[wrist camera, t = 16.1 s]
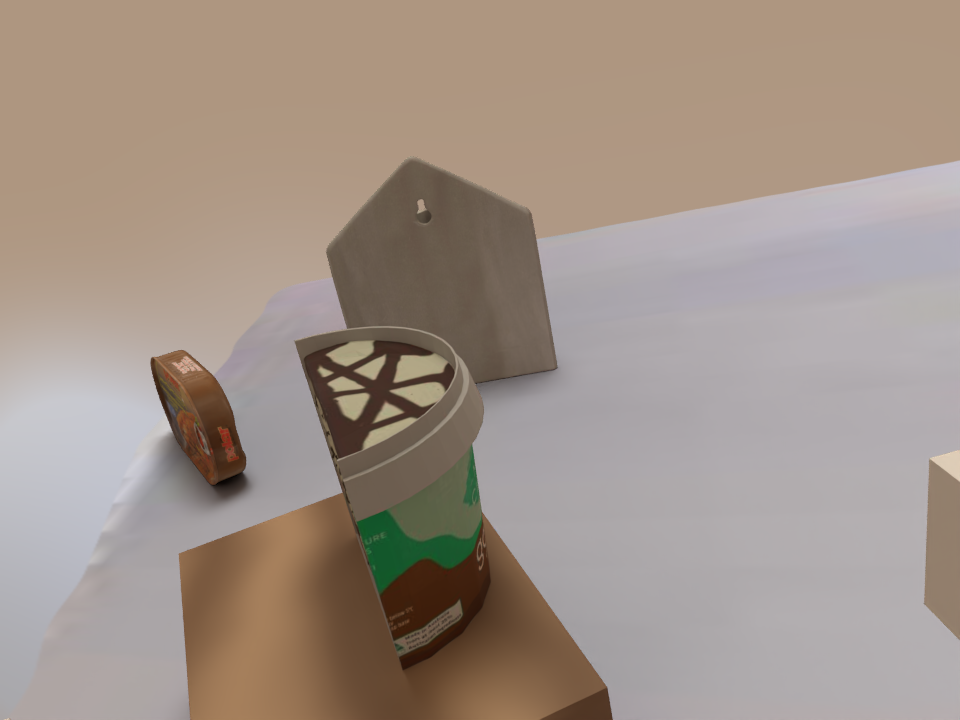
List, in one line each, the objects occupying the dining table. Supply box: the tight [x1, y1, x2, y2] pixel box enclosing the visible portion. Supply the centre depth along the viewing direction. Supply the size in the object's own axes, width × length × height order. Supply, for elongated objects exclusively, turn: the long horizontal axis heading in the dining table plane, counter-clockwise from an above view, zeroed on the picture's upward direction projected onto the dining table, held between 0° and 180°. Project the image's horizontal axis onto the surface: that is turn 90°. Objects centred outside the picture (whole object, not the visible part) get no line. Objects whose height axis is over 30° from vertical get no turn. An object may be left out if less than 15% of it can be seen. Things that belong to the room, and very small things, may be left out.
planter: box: [326, 157, 557, 383], centre depth 68 cm, size 16×8×19 cm, turn 91°
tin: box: [151, 350, 246, 485], centre depth 64 cm, size 15×3×8 cm, turn 34°
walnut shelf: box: [179, 493, 613, 720], centre depth 36 cm, size 14×18×8 cm
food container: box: [294, 326, 491, 670], centre depth 33 cm, size 12×6×10 cm, turn 19°
